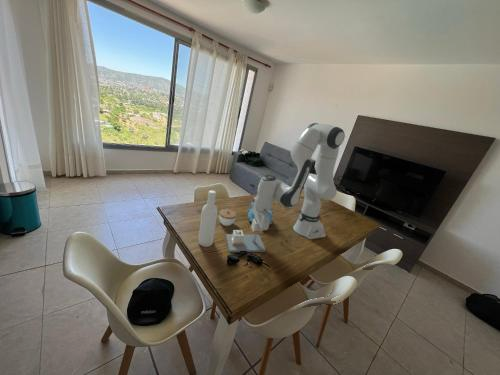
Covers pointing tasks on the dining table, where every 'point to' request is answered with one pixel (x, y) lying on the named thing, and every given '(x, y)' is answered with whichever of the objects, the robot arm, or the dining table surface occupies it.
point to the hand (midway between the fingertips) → (257, 227)
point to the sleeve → (255, 227)
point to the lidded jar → (227, 217)
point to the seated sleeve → (237, 238)
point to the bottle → (208, 221)
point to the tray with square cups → (246, 243)
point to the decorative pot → (251, 216)
